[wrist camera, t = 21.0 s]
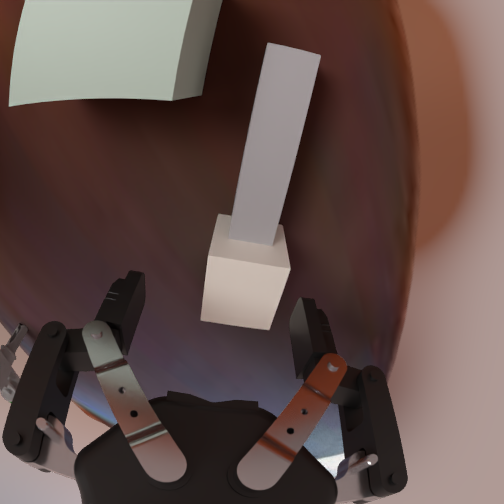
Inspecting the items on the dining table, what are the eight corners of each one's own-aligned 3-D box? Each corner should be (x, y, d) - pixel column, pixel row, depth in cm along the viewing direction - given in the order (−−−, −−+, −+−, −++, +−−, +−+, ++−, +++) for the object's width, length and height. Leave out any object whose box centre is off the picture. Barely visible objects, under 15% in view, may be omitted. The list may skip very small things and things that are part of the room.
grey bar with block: (249, 47, 13) (248, 31, 9) (324, 64, 13) (351, 57, 9) (208, 284, 22) (199, 332, 18) (263, 292, 23) (264, 341, 18)
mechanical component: (28, 346, 30) (2, 399, 21) (3, 296, 24) (-35, 353, 16) (42, 352, 30) (16, 407, 22) (18, 302, 24) (-21, 364, 16)
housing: (91, -1, 10) (31, -19, 4) (224, -8, 11) (209, -53, 5) (74, 92, 14) (8, 106, 8) (201, 95, 15) (172, 100, 9)
